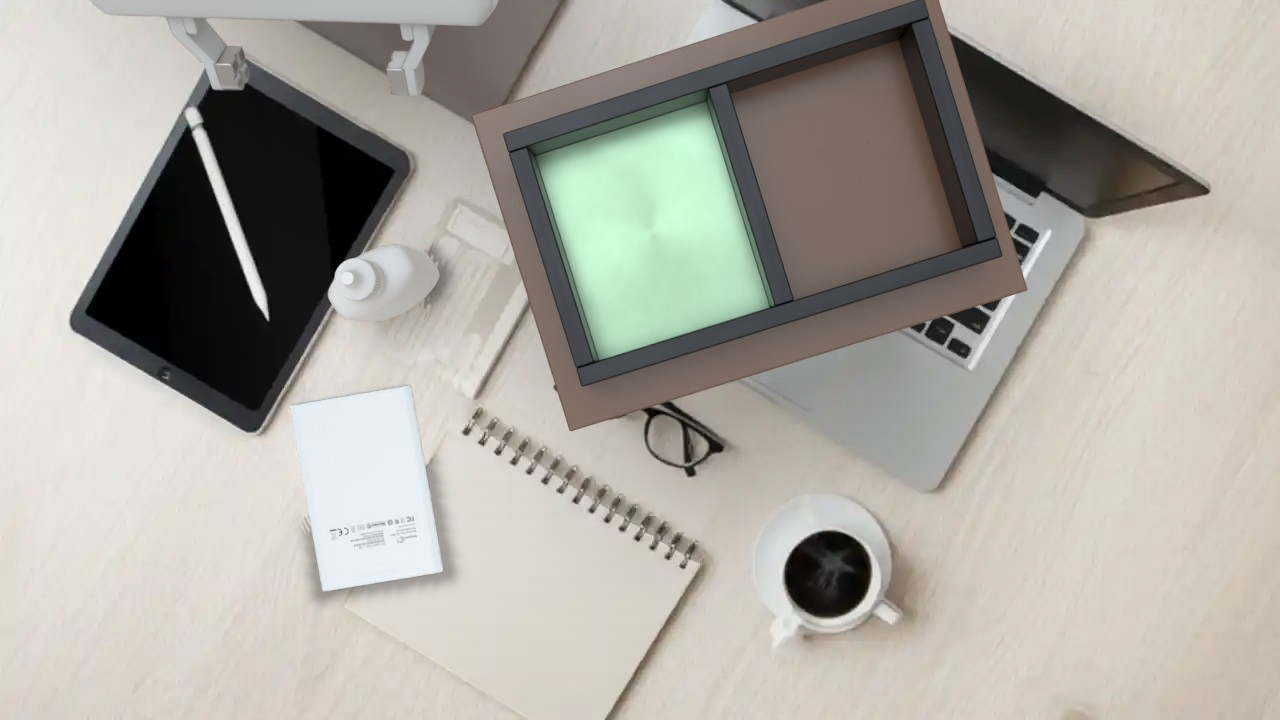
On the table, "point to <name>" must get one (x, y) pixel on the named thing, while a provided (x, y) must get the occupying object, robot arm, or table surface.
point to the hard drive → (366, 488)
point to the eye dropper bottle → (382, 283)
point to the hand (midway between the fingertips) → (320, 87)
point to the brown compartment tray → (748, 203)
